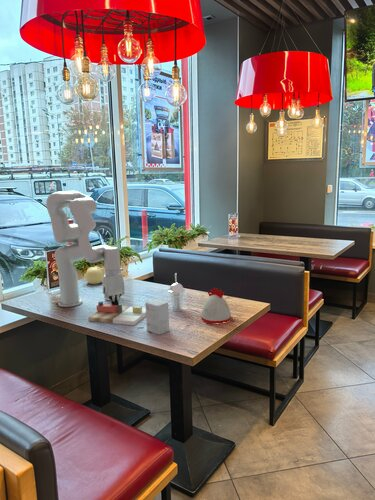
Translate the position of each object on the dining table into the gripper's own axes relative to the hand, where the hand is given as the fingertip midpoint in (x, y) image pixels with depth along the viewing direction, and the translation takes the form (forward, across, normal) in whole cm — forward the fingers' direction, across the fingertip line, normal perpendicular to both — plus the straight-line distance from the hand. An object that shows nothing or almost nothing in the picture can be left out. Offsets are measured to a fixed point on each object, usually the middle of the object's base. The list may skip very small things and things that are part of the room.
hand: (115, 307), depth 192 cm
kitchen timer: (+3, -31, +40) cm, 51 cm away
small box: (+3, -3, +33) cm, 33 cm away
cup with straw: (+3, -25, +18) cm, 31 cm away
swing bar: (+1, +4, 0) cm, 4 cm away
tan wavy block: (+3, +4, +1) cm, 5 cm away
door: (+3, -3, +11) cm, 12 cm away
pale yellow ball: (+3, -17, -60) cm, 62 cm away
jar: (+3, -10, -23) cm, 25 cm away
